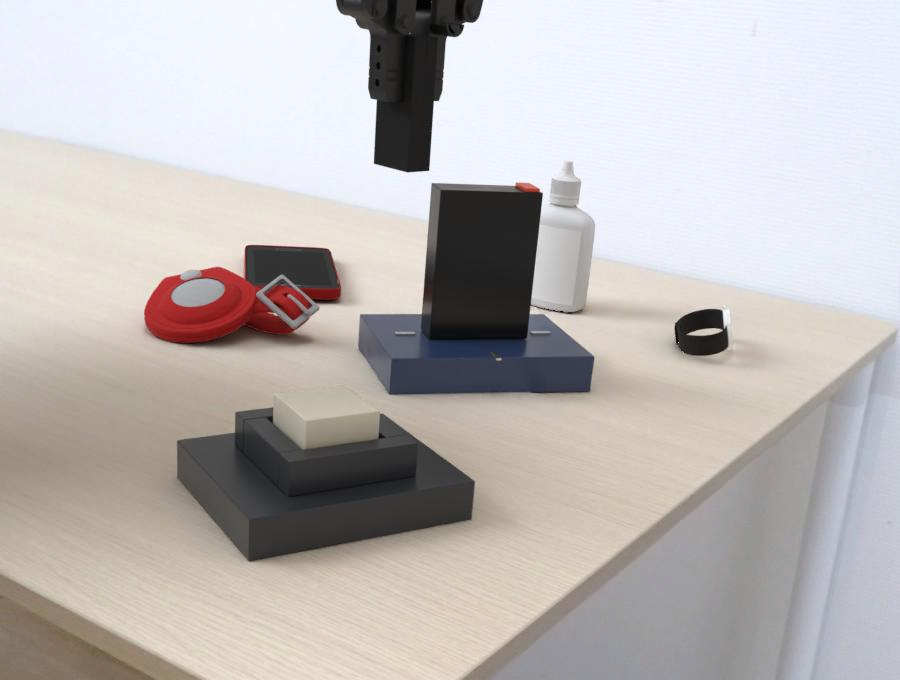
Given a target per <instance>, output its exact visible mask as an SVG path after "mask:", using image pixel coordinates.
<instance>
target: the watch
mask: <svg viewBox="0 0 900 680" xmlns="http://www.w3.org/2000/svg"><path fill="white" fill-rule="evenodd" d="M721 307H722V309H719V308H704V309H699V310H695V311H691V312H689V313H687V314H684V315H683V316H681V317H680V318H679V319H678V320H677V321H676V322H674V328H673V329H674V337H675V346H676V345H678V348H680V349H681V351H683V352H684V353H683V352H682V353H683V354H684V355H685V354H686V355H688V356H692V357H693V356H694V357H706V356H714V355H718V354H720V353H723V352H725V351H727V352H730V351H732V350H734V339H733V328H732V319H731V311H730V308H727V305H726V304H723V305H722V306H721ZM710 329H711V330H712V329H716V330H721V331H718V332H716V333H712V334H706V335H693V334H692V335H691V333H694V332H697V331H703V330H710ZM678 342H679V343H678ZM680 349H679V350H680ZM681 351H680V352H681Z"/></svg>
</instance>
